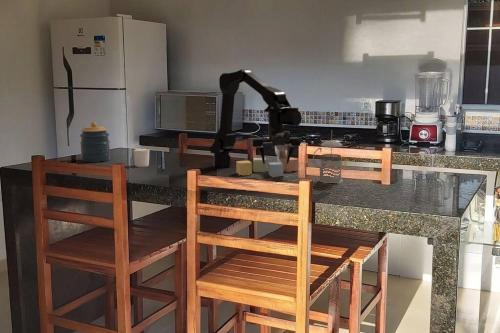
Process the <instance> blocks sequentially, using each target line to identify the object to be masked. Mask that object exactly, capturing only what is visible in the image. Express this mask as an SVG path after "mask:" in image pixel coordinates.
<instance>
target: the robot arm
mask: <svg viewBox="0 0 500 333" xmlns="http://www.w3.org/2000/svg"><path fill="white" fill-rule="evenodd" d="M218 80H219V84H218V85H219V89H220V92H221V95H222V98H221V109H220V121H219V122H220V123H219V129H218V130H217V132H216V133H215V136H214V142H213V143H212V144H211V145H210V147H209V152H210V153H211V154H213V168H214V169H216V168H217V169H218V168H220V169H221V168H223V169H224V168H230V166H231V155H230V153H231V152H233V148H234V147H235V144H237V141H236V139H237V133H234V131H233V128H232V127H233V118H234V107H235V105H234V104H235V95H236V94H237V92H238V90H239V89H240V85H241V83H245V84H247V85H248V86H249V87H251V89H253V90H254V91H256V92H257V93H258V94H259V95H260V96H261V97H262V99H263V101H264V102H265V103H266V105H267V107H266V108H265V109H264V110H263V111H264V113H268V139H263V138H262V137H252V138H251V139H250V142H251V143H250V145H251V147H254V148H255V149H257V150H258V152H259V155H260V158H262V161H263V164H265V158H266V157H265V147H264V145H272V146H274V147H275V146H277V145H282V146H283V145H285V144H289V145H287V158H286V162H287V164H288V162H289V159H290V157H291V156H292V154H293V152H294V151H295V149H298V147H301V145H302V143H301V142H302V140H301V139H300V138H299V137H298V136H292V137H291V133H290V132H287V131H286V132H284V126H292V127H293V126H295V127H297V126H300V124H301V123H302V119H303V116H302V113H301V112H300V111H299V107H292V105H291V103H290V102H289V101H288V99H287V98H288V97H287V95H286V93H285V92H284V91H282V90H280V89H278V88H276V87H272V86H270V85H269V84H267V83H266V82H265V81H264V80H262V79H261V78H259V77H258V76H257V75H256V74H255V73H253V72H252V70H250V69H246V68H245V69H240V70H237V71H234V72H233V71H232V72H223V73H222V74H220V76H219V79H218ZM300 144H301V145H300Z"/></svg>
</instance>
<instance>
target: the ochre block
mask: <svg viewBox="0 0 500 333" xmlns="http://www.w3.org/2000/svg"><path fill="white" fill-rule="evenodd" d="M235 165H236V166H235V167H236V169H235V170H236V174H237V173H238V174H239V175H238V174H237V175H238V176H240V175H242V176H251V175H250V174H252V175H253V162H251V161H250V160H237V161H236V164H235Z"/></svg>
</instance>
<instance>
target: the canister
mask: <svg viewBox="0 0 500 333" xmlns="http://www.w3.org/2000/svg"><path fill="white" fill-rule="evenodd" d="M80 131H81V133H80V134H79V137H80V142H79V144H80V160H81V162H84V163H101V162H100V161H104V162H108V161H110V159H111V153H110V148H111V147H110V142H111V141H110V140H109V136H110V133H108V132H107V131H108V129H107V128H106V127H105V126H102V125H98V123H97V122H96V121H92V122H91V124H90V125H89V126H84V128H81V130H80ZM107 160H108V161H107Z"/></svg>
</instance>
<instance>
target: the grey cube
mask: <svg viewBox="0 0 500 333" xmlns="http://www.w3.org/2000/svg"><path fill="white" fill-rule="evenodd" d="M268 175H270V176H283V177H284V171H283V164H282V163H281V162H277V161H275V162H274V161H273V162H268ZM270 176H269V177H270Z"/></svg>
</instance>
